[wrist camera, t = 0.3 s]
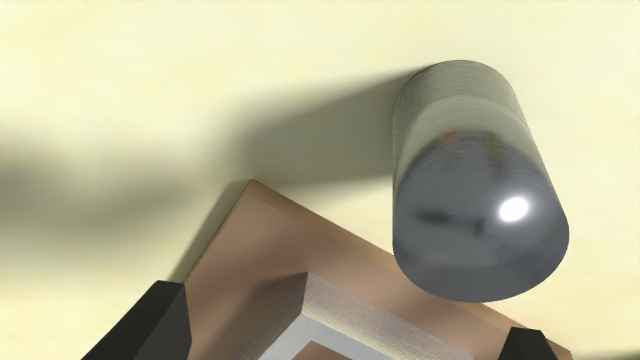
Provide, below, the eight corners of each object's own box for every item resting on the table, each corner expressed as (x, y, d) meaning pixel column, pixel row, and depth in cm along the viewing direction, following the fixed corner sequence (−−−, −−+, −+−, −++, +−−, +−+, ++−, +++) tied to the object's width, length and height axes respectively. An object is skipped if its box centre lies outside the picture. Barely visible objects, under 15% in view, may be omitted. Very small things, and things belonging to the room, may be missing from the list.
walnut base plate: (570, 351, 26) (576, 368, 26) (402, 457, 34) (402, 473, 33) (251, 179, 22) (246, 193, 22) (142, 343, 30) (135, 358, 29)
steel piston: (544, 103, 19) (609, 231, 13) (461, 185, 21) (486, 323, 16) (444, 35, 18) (467, 143, 12) (369, 130, 20) (360, 256, 15)
